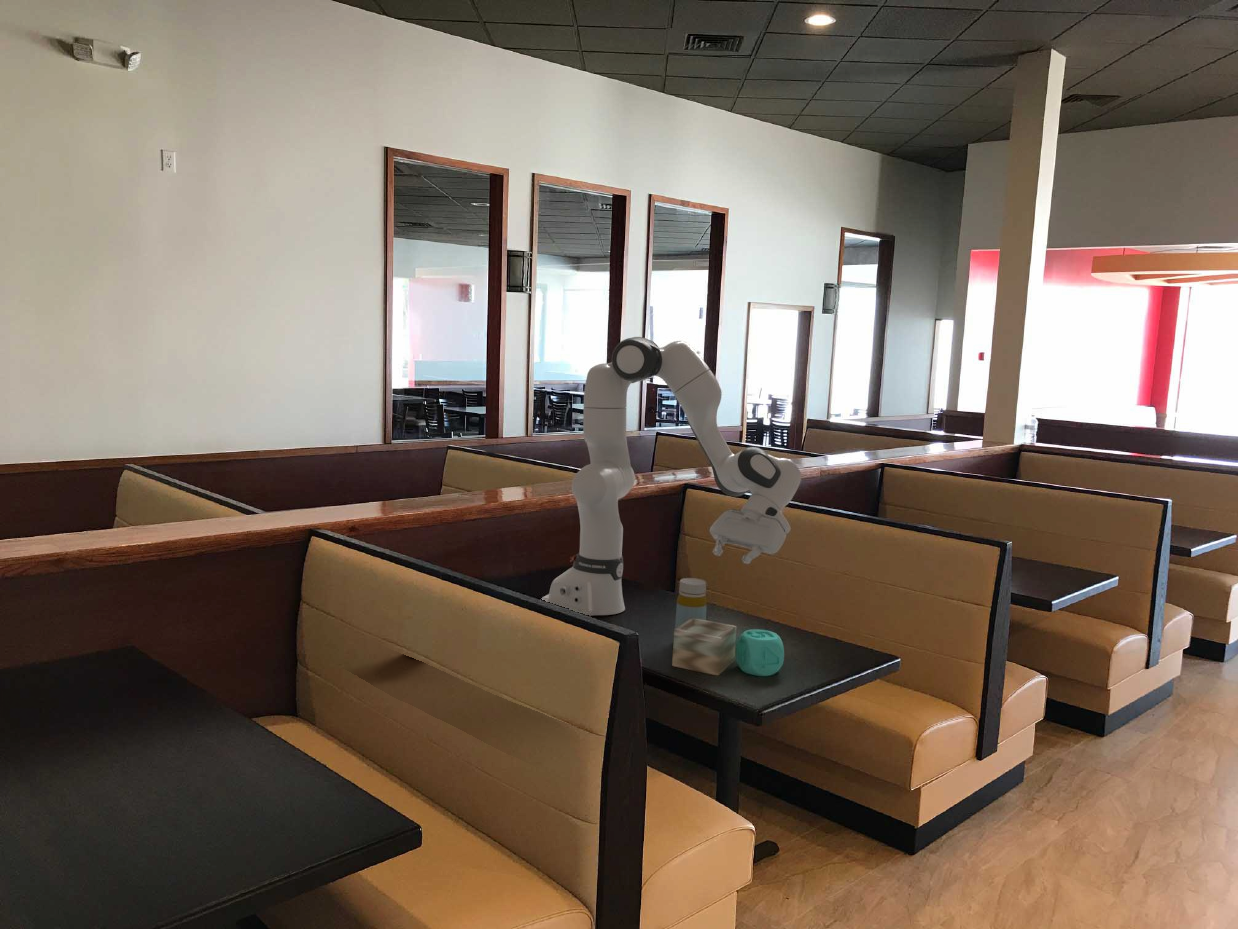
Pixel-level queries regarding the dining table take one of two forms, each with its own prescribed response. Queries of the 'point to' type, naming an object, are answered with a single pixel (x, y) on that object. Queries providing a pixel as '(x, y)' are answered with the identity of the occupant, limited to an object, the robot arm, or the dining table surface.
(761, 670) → the decorative dice
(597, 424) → the robot arm
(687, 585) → the bottle
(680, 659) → the open square box
